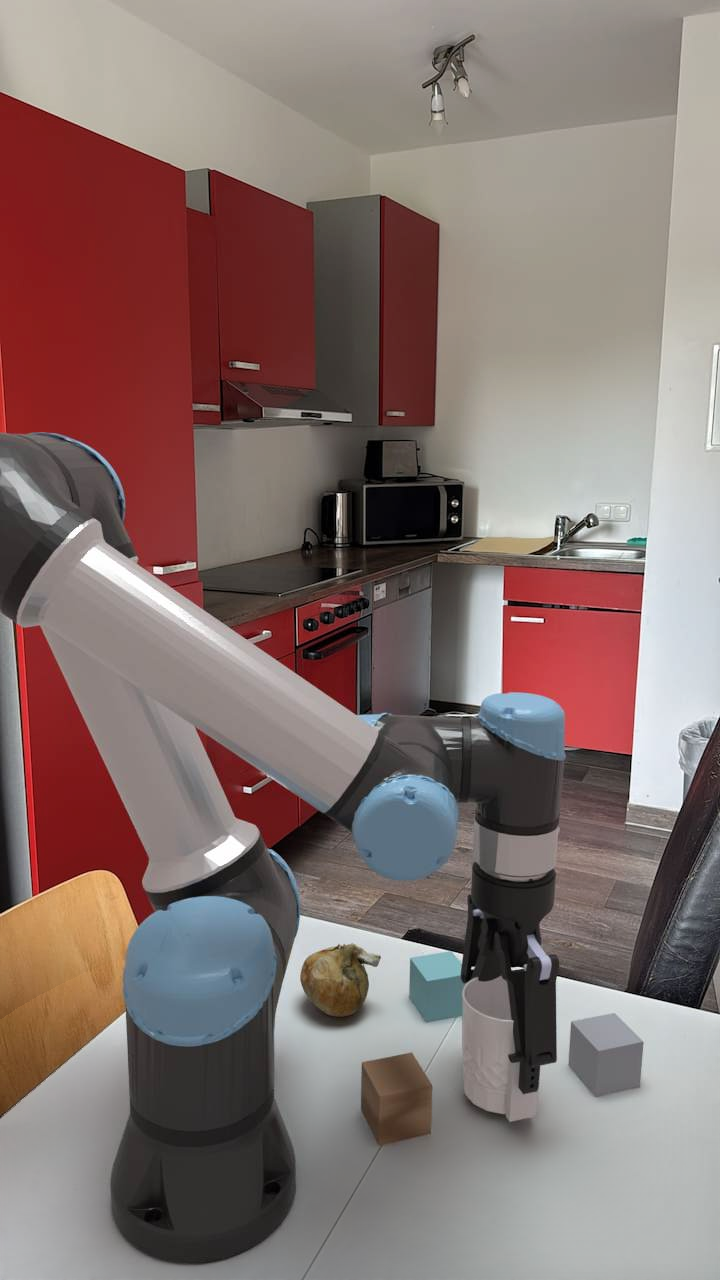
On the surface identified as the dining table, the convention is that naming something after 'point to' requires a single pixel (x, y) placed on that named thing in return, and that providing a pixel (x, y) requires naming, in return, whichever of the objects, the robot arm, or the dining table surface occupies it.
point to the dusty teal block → (436, 986)
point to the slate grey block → (605, 1054)
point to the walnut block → (396, 1098)
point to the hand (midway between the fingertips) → (500, 1087)
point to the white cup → (486, 1043)
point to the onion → (338, 978)
